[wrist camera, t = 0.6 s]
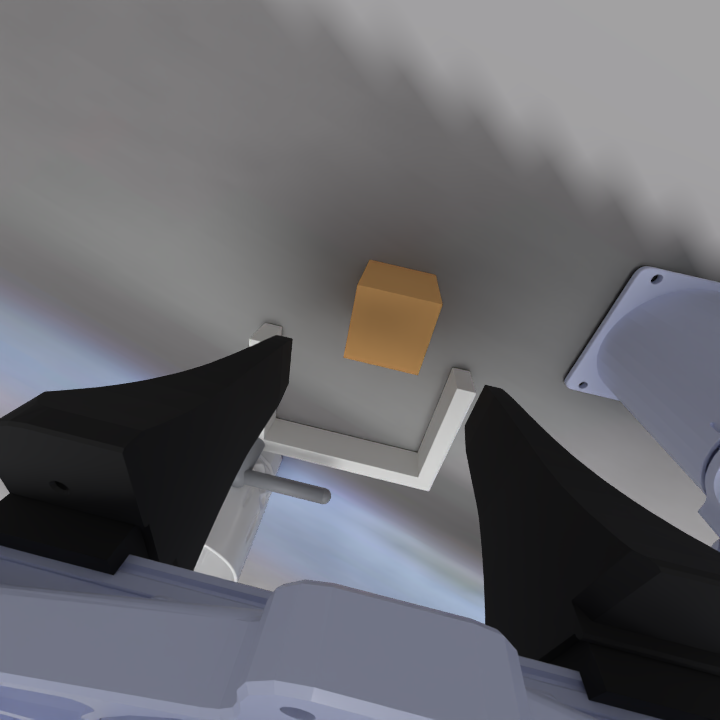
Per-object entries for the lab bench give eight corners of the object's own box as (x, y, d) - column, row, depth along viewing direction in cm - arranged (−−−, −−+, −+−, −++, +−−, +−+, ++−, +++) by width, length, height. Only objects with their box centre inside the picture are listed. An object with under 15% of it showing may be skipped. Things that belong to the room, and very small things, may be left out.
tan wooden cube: (435, 274, 19) (442, 304, 15) (416, 334, 21) (418, 375, 17) (369, 259, 19) (357, 284, 15) (357, 320, 21) (343, 357, 17)
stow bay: (469, 371, 22) (487, 432, 17) (427, 466, 27) (430, 536, 22) (263, 322, 22) (218, 367, 17) (260, 425, 27) (224, 484, 22)
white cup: (256, 489, 32) (198, 606, 23) (189, 442, 30) (99, 552, 21) (306, 457, 28) (260, 580, 20) (235, 400, 26) (149, 511, 18)
